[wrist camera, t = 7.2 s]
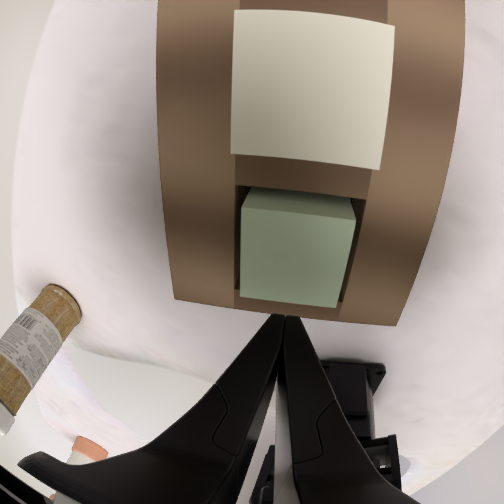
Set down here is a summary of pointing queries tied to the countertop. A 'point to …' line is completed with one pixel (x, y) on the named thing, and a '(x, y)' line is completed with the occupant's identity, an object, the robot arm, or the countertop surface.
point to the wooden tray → (304, 171)
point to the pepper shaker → (85, 453)
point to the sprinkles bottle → (32, 347)
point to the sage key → (294, 246)
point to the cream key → (310, 86)
